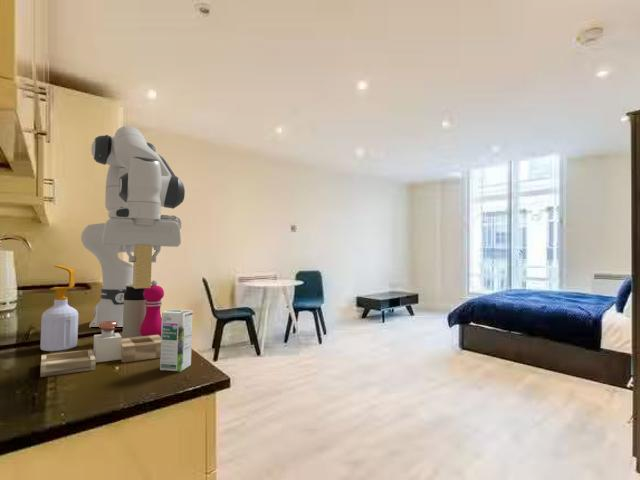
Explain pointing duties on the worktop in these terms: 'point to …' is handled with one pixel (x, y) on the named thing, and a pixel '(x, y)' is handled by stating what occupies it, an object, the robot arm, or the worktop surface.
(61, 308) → the soap bottle
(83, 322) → the worktop surface
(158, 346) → the socket
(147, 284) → the block
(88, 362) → the shallow wooden tray
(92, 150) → the robot arm
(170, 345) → the syrup box
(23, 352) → the worktop surface
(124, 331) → the travel mug
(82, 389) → the worktop surface
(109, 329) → the pin
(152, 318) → the pepper mill
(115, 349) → the pin guide
